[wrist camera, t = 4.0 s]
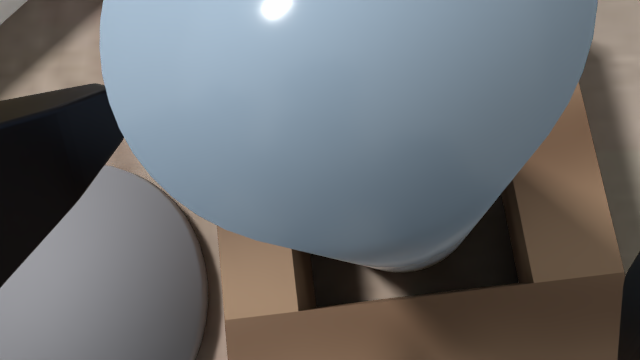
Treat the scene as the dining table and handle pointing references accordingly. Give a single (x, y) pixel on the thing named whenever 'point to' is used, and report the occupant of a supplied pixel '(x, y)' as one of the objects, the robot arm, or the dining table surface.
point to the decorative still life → (9, 8)
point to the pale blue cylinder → (342, 112)
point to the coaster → (110, 281)
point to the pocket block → (460, 305)
